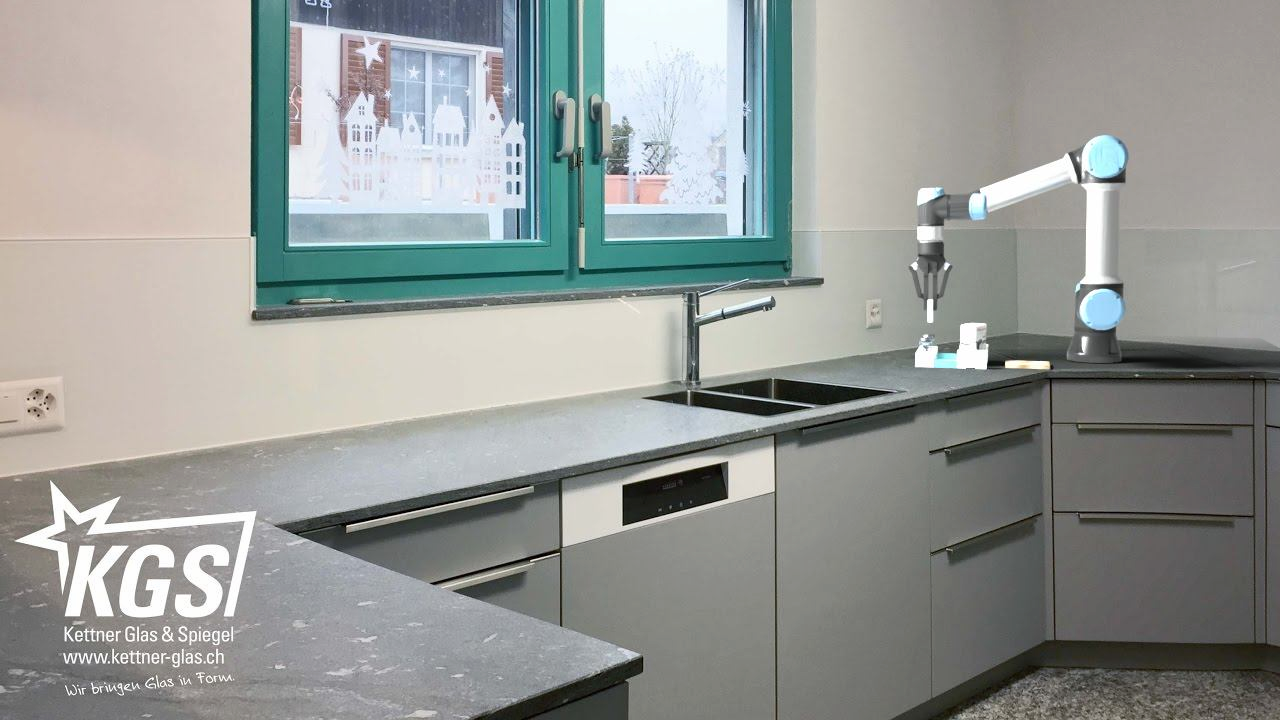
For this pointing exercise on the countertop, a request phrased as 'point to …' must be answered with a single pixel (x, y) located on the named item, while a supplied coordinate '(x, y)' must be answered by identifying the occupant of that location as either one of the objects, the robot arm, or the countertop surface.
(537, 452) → the countertop surface
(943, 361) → the housing
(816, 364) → the countertop surface
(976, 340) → the ink box
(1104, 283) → the robot arm
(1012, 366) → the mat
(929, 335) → the plunger
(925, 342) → the plunger
